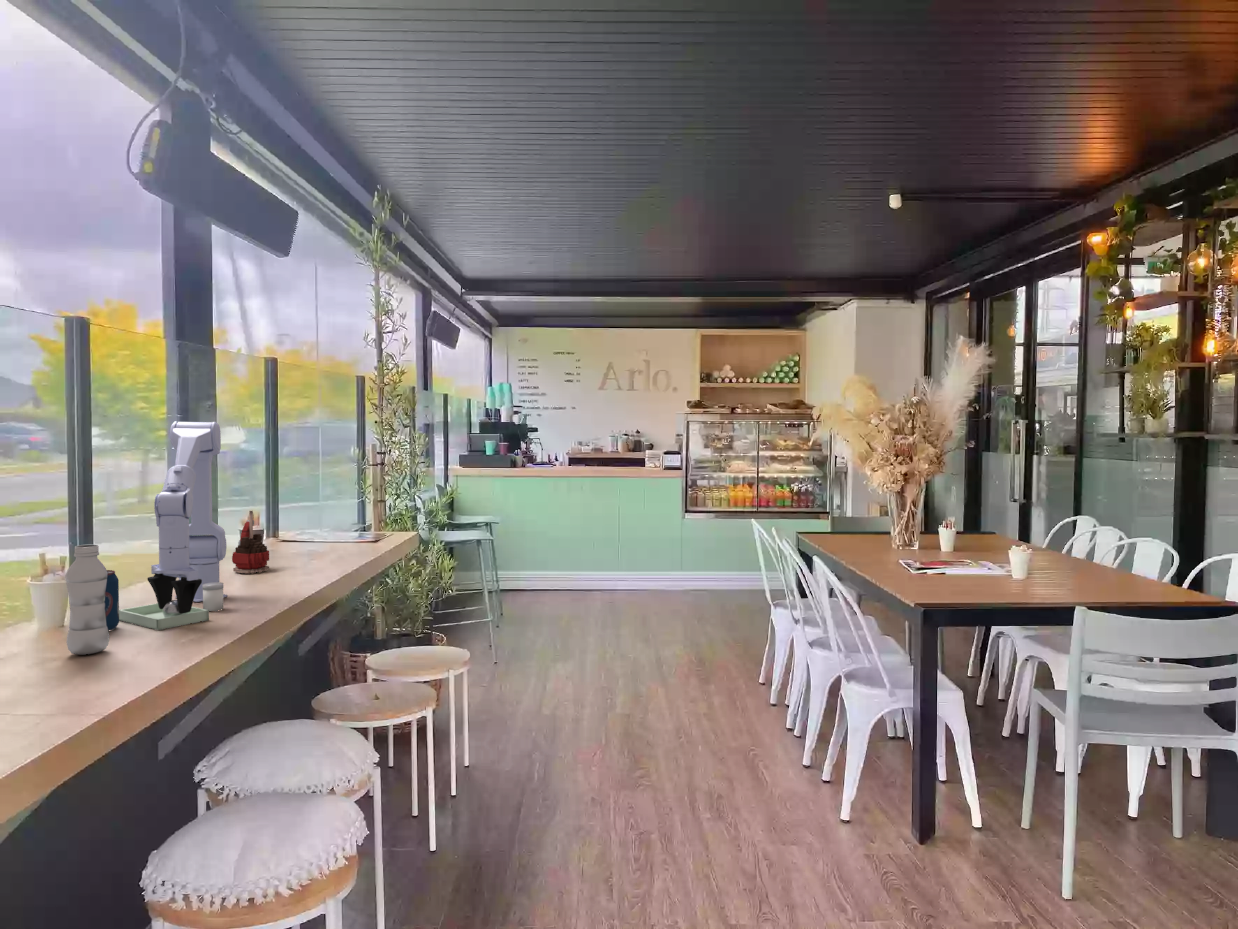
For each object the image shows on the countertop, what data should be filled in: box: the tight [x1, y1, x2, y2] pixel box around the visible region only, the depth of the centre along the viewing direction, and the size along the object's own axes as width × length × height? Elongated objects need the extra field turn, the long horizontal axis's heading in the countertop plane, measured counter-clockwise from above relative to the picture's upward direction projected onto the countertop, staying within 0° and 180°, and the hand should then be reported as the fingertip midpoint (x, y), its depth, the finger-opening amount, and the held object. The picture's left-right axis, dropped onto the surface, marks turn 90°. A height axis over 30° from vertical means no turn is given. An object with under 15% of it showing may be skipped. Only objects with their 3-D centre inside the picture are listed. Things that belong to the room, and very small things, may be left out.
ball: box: [163, 599, 187, 618], centre depth 173 cm, size 5×5×5 cm
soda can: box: [104, 569, 120, 632], centre depth 166 cm, size 7×7×12 cm
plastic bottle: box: [64, 544, 110, 656], centre depth 148 cm, size 6×7×20 cm
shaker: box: [202, 581, 224, 612], centre depth 186 cm, size 4×4×6 cm
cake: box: [231, 510, 270, 575], centre depth 235 cm, size 11×9×18 cm
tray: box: [119, 602, 210, 631], centre depth 175 cm, size 16×11×2 cm
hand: (174, 610), depth 173 cm, fingers open, 7 cm apart
